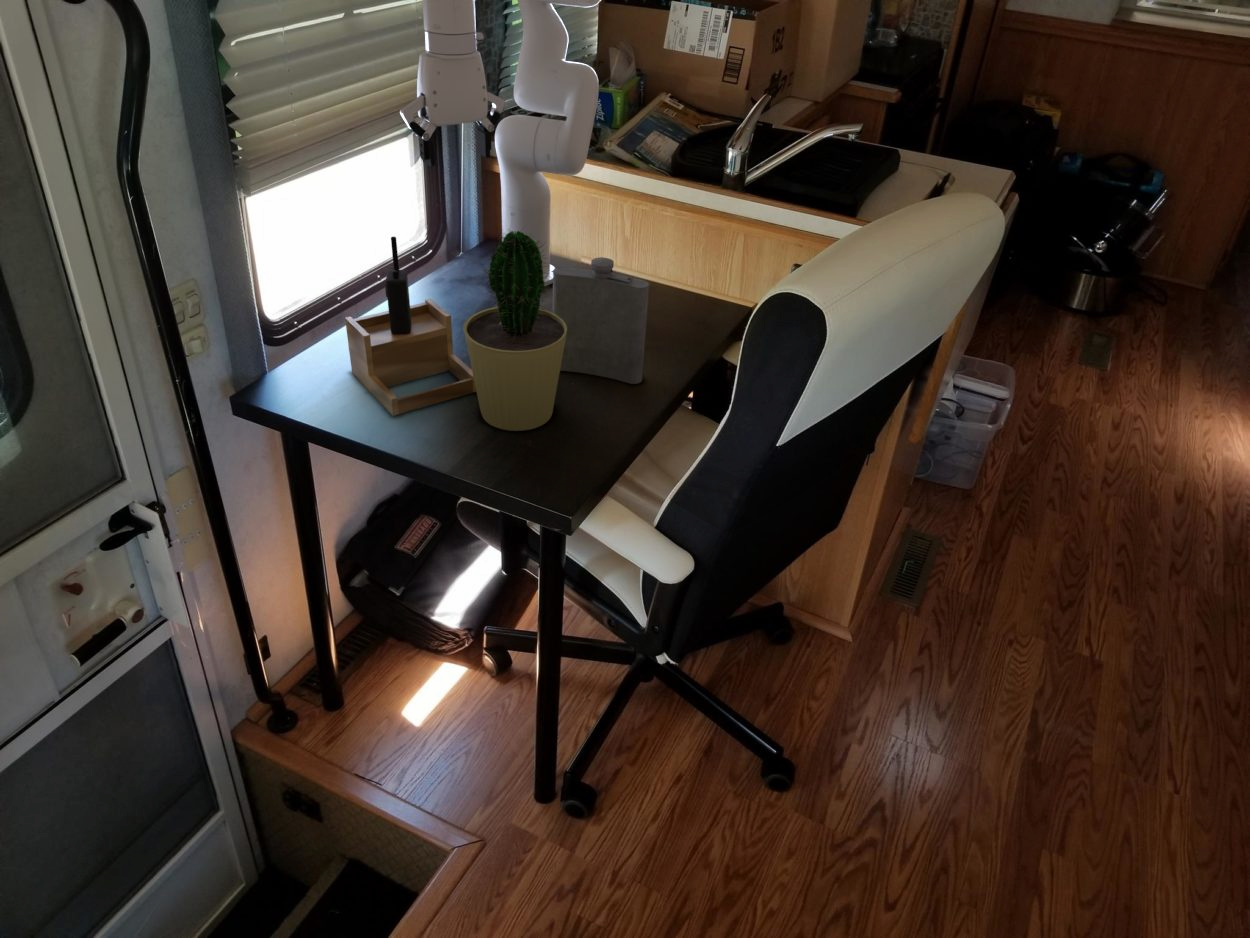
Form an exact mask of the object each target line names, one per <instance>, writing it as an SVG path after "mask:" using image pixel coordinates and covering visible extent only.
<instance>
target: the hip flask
mask: <svg viewBox="0 0 1250 938" xmlns="http://www.w3.org/2000/svg"><path fill="white" fill-rule="evenodd" d="M614 262H615V261H614V260H613V259H611V258H608V257H602V256H601V257H594V258H592V259H591V261H590V267H591V268H592V269H588V268H579V267H567V266H560V267H559V266H558V267H555V269H554V270H553V283H552V313H554V314H555V315H557V316H559V317H560V318H561V319H562V320H563V321H564V322H565V324H566V326H567V333H566V340H565V346H564V351H563V356H562V362H561V367H560V372H570V373H571V372H573V373H580V374H586V375H593V376H597V377H598V376H599V377H603V378H608V379H612V380H615V381H620V382H624V383H626V384H631V385H635V384H636V385H637V384H640V383H642V381H643V374H644V373H643V371H644V361H645V360H644V359H645V345H646V344H645V343H646V334H647V333H646V330H647V319H648V306H649V305H648V304H649V292H650V291H649V290H650V282H648V281H647V280H645V279H642V278H637V277H633V276H630V275H626V274H622V273H618V272H614V271H613V269H614V267H615V266H614V265H615V263H614Z"/></svg>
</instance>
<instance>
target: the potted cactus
mask: <svg viewBox="0 0 1250 938" xmlns="http://www.w3.org/2000/svg"><path fill="white" fill-rule="evenodd" d="M523 228H524V227H523ZM507 230H508V229H507ZM509 230H510V229H509ZM522 230H523V229H522ZM522 230H521V233H520V232H519V231H517V233H516V232H515V234H514V232H513V231H512V232H510V233H508V234H506V235H505V237H502V236H503V234H502V233H503V232H502V231H501V235H500V234H498V235H497V236H496V238H497V239H498V240H497V239H496V241H497V243H496V245H497V247H496V248H495V249H494V251H491V253H492V254H491V257H490V258H489V256H486V259H487V260H488V261H489V268H486V270H485V271H484V272H483V273H482V275H484V279H485V280H486V279H487V280H488V283H487V284H486V285H485V287H486V288H488V290H489V292H487V293H486V294H487V295H488V294H489V293H491V294H490V297H493V300H494V299H495V300H494V302H493V304H491V306H492V307H490V308H489V307H488V308H485V309H483V310H480V311H478V312H475V313H474V314H472V315H470V316H469V317H468V318H467V319H466V320H465V321H464V323H463V326H462V330H463V334H464V336H465V343H466V347H467V352H468V357H469V361H470V368H471V370H472V372H473V377H474V382H475V386H476V391H477V392H476V395H477V396H476V397H477V401H478V406H479V410H480V414H481V416H482V418H483V420H484V421H485V422H486V423H487V424H488V425H490V426H492V427H494V428H497V429H500V430H504V431H513V432H520V431H521V432H522V431H528V430H529V431H530V430H533V429H537V428H539V427H541V426H543V425H544V424H546V423H548V421H550V420H551V418H552V416H553V413H554V406H555V401H556V400H555V399H556V395H557V390H558V385H559V379H560V378H559V377H560V374H561V373H560V372H561V371H560V367H561V362H562V356H563V351H564V346H565V340H566V333H567V326H566V324H565V322H564V321H563V320H562V319H561V318H560V317H559V316H557V315H555V314H554V313H553V311H552V312H551V311H549V310H547V309H544V308H545V306H544V305H542V307H543V308H541V303H542V302H545V300H543V299H542V295H546V294H547V293H545V292H548V291H549V290H551V287H550V286H549V285H553V283H546V282H545V283H544V280H543V276H544V275H543V270H542V267H547V266H542V260H541V256H542V255H541V253H540V252H539V251H540V250H539V249H538V247H537V245H536V244H538V242H539V241H538V242H534V240H532V239H531V238H532V236H531V238H530V237H529V236H527V235H524V234H523V232H522ZM503 231H504V230H503ZM508 232H509V231H508ZM504 234H505V233H504ZM525 234H526V233H525ZM527 234H528V233H527ZM530 234H531V233H530ZM503 238H504V239H503ZM502 240H503V242H502ZM541 243H542V242H541ZM538 245H539V244H538ZM543 246H544V245H543ZM541 247H542V246H541ZM539 248H540V247H539ZM545 250H546V249H545ZM542 252H543V251H542ZM542 257H544V256H542ZM543 259H547V258H543ZM544 263H546V262H544ZM484 273H485V274H486V275H485V274H484ZM544 273H545V272H544ZM546 279H547V278H546ZM544 284H549V285H547V286H544ZM485 287H484V288H485Z"/></svg>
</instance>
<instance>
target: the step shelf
mask: <svg viewBox="0 0 1250 938" xmlns="http://www.w3.org/2000/svg"><path fill="white" fill-rule="evenodd" d="M410 312H411V332H410V333H409V334H392V333H391V329H390V319H389V310H386V311H382V312H377V313H373V314H369V315H363V316H360V317H356V318H353V317H352V316H346V317H344V321H345V328H346V329H345V330H346V336H347V343H348V344H347V345H348V353H349V361H350V367H351V368H350V369H351V373H352V374H353V375H354V376H355V378H357V379H358V381H359V382H360V383H361V384H362V385H363V386H364V387H365V388H366V389H367V390H368V391H369V392H370V393H371V394H372V395H373V397H374V398H375V399H377V401H378V402H379V403H380V404H381V405H382V406H383V407H384V408H385V409H386V410H387V412H388V413H390V415H391V416H393V417H395V416H397V415H401V414H405V413H408V412H411V411H415V410H418V409H422V408H425V407H428V406H431V405H432V406H433V405H435V404H439V403H443V402H446V401H449V400H452V399H456V398H459V397H462V396H466V395H470V394H473V393H477V391H476V386H475V382H474V377H473V372H472V368H471V367H469V366H468V364H466V363H465V362H464V361H462V360H461V359H460V358H459V357H458V356H457V355H456V354H454V345H453V344H454V343H453V327H452V326H453V325H452V315H451V314H450V313H449V312H448V311H446V310H445V309H444V308H443V307H442V306H440V305H439V304H438V303H436V302H435V300H433V299H432V298H426V299H425V300H424V302H420V303H416V304H412V305H411V304H410ZM448 371H449V372H450V373H451V374H452V375H453V376H455V378H457V379H458V380H459V381H455V382H451V383H447V384H444V385H441V386H438V387H434V388H431V389H430V388H429V389H427V390H423V391H420V392H417V393H412V394H409V395H406V396H402V397H398V396H396V395H395V394H394V393H393V392H392V391H391V390H390V389H389V388H390V387H395V386H398V385H402V384H405V383H408V382H412V381H413V382H414V381H415V380H419V379H424V378H427V377H430V376H434V375H437V374H441V373H446V372H448Z"/></svg>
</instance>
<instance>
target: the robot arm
mask: <svg viewBox="0 0 1250 938" xmlns="http://www.w3.org/2000/svg"><path fill="white" fill-rule="evenodd" d="M601 1H602V0H517V4H518V8H519V12H520V15H521V16H520V17H521V21H522V40H521V44H520V50H519V55H518V59H517V65H516V70H515V76H514V82H513V99H514V102H515V103H516V105H517V106H518V107H519V108H521V109H523V110H525V111H529V112H534V113H539V114H546V115H552V116H561V117H566V119H565V120H561V119H553V118H546V117H540V116H533V115H527V114H526V115H525V114H513V115H508V116H506V117H503V119H501V114H502V112H503V109H504V107H505V104H506V100H505V99H504V98H502V97H499V96H497V95H496V94H493V93H491V92H490V91H488V90H487V80H486V73H485V68H484V64H483V59H482V56H481V52H480V51H478V50H477V49H478V44H479V43H483V42H484V39H485V38H484V37H485V36H484V33H482V32H480V31H479V32H478V30H477V27H476V26H477V25H476V22H477V21H476V0H421V3H422V19H423V36H424V37H423V38H424V49H425V51H421V52H420V53H419V58H418V66H417V77H416V78H417V79H416V80H417V81H416V98H415V99H413V100H412V101H410V102H409V103H408V104H407V105H405V106H403V107H402V108H401V109H400V110H399V114H400V116H401V118H402V119H403V121H404V122H405V124H406V127H407V128H408V129H409V130H410V131H411V132H412V133H414V134H415V136H416V137H418V148H419V157H420V159H421V160H422V162H423V163H424V164H425V165H427V166H428V167H435V165H436V155H435V141H434V139H431V137H432V135H433V134H434V132H435V131H436V129H437V128H438V127H446V126H453V125H463V124H468V123H469V124H470V123H475V122H476V124H477V125H478V127H476V129H475V135H476V136H475V137H476V152H477V154H478V155H480V156H482V157H484V158H486V159H489V158H491V150H492V133H493V131H494V130H495V131H494V132H495V133H494V147H495V152H496V157H497V163H498V167H499V177H500V190H501V191H500V195H501V197H500V198H501V200H500V201H501V238H502V237H505V235H506V234H508V233H510V232H512V231H513V232H514V234H515V232H516V233H517V231H519V232H520V233H521V230H522V229H523V230H522V232H523V234H524V235H527V236H529V237H530V238H531V236H532V238H531V239H532V240H534V242H538V241H539V242H538V244H539V245H538V244H536V245H537V247H538V249H539V250H540V251H539V252H540V253H541V255H542V256H544V257H542V256H541V260H542V266H547V267H542V270H543V275H544V276H543V280H544V283H545V282H546V283H552V284H553V270H554V269H555V268H556V267H555V266H554V265H552V264H551V201H552V200H551V199H552V198H551V189H550V186H549V184H548V181H547V179H546V178H545V175H544V174H543V173H548V174H553V175H554V174H555V175H563V176H575V175H578V174H579V173H581V172H582V171H583V169H584V167H585V165H586V162H587V158H588V155H589V149H590V144H591V140H592V139H591V138H592V133H593V129H594V123H595V118H596V113H597V108H598V101H599V94H600V93H599V92H600V91H599V87H600V86H599V78H598V74H597V73H596V71H595V70H594V69H593V67H592V66H590V65H589V64H585V63H582V62H576V61H569V60H566V57H567V53H568V52H567V51H568V46H569V40H570V39H569V33H568V31H567V28H566V25H565V23H564V22H563V20H562V18H561V17H560V16H559V14H558V13H557V11H556V9H555V7H554V6H553V5H561V6H567V7H568V6H569V7H570V6H571V7H577V8H578V7H579V8H592V7H595V6H597V5H598V4H599V3H601ZM488 102H489V103H491V105H492V106H491V109H490V110H488V109H489V107H488V106H489V103H488ZM415 114H417V115H418V117H419V118H420V119H421V120H420V122H419V123H417V120H416V119H415ZM500 119H501V120H500ZM499 120H500V121H499ZM497 123H498V124H497ZM496 124H497V126H496V128H495V125H496ZM523 227H524V228H523ZM507 229H508V230H507ZM509 229H510V230H509ZM503 230H504V231H503ZM508 231H509V232H508ZM502 232H503V233H502ZM504 233H505V234H504ZM525 233H526V234H525ZM527 233H528V234H527ZM530 233H531V234H530ZM502 234H503V236H502ZM503 239H504V238H503ZM501 240H502V239H501ZM501 242H503V240H502V241H501ZM541 242H542V243H541ZM543 245H544V246H543ZM541 246H542V247H541ZM539 247H540V248H539ZM545 249H546V250H545ZM542 251H543V252H542ZM543 258H547V259H543ZM544 262H546V263H544ZM544 272H545V273H544ZM546 278H547V279H546ZM549 285H550V284H544V287H545V286H549Z"/></svg>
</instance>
